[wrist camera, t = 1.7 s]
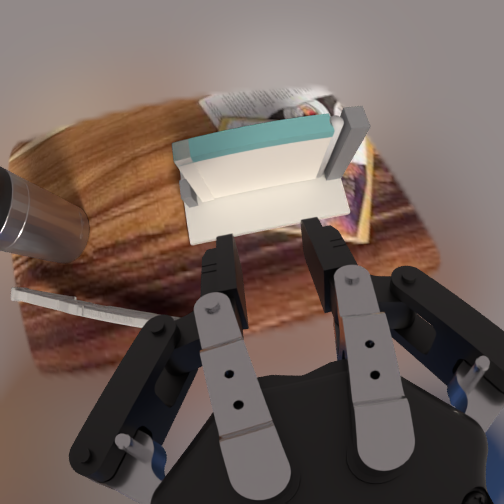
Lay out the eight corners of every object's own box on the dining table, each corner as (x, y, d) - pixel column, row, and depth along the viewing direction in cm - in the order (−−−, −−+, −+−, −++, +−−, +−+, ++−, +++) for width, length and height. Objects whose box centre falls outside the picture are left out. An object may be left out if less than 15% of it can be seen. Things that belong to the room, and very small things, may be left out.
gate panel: (202, 202, 40) (173, 161, 27) (200, 188, 40) (171, 143, 27) (324, 178, 40) (346, 129, 27) (320, 165, 40) (340, 112, 27)
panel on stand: (192, 245, 41) (151, 218, 26) (178, 145, 43) (142, 85, 28) (348, 214, 40) (386, 172, 25) (319, 118, 42) (336, 50, 28)
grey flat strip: (36, 287, 40) (9, 286, 32) (223, 319, 43) (225, 326, 36) (35, 299, 40) (8, 300, 32) (221, 332, 43) (223, 342, 35)
